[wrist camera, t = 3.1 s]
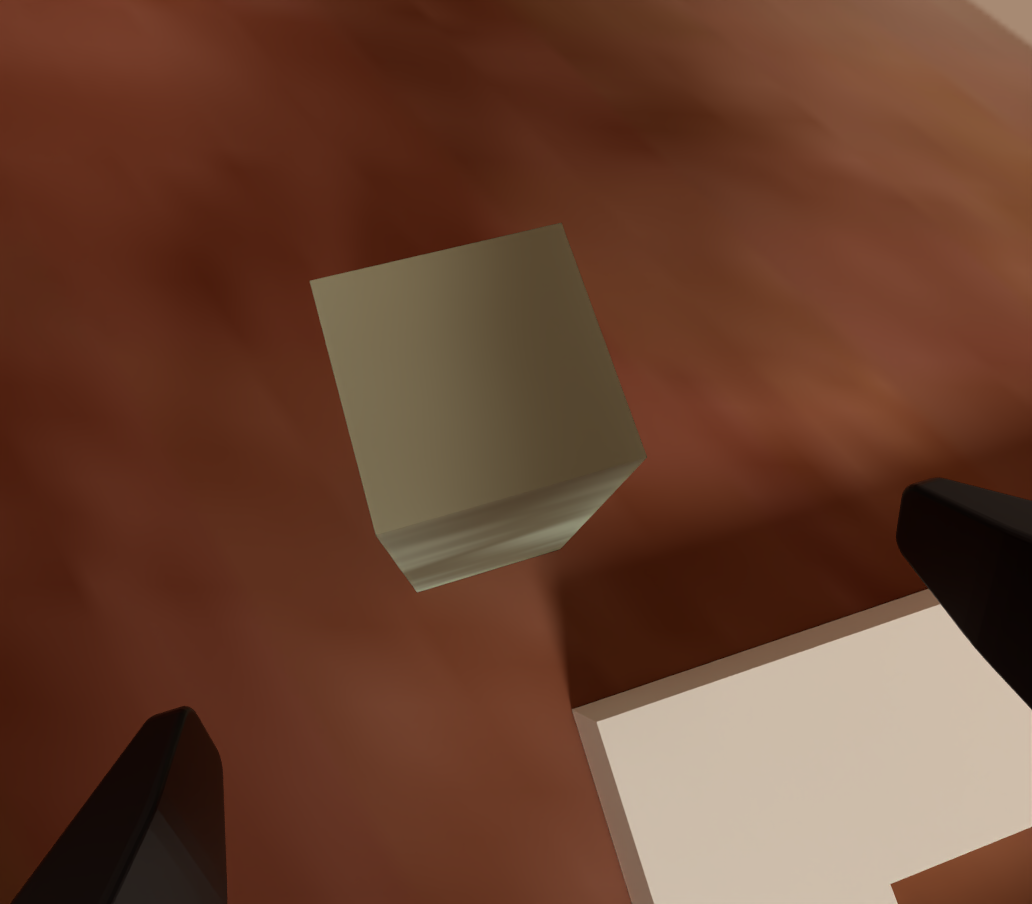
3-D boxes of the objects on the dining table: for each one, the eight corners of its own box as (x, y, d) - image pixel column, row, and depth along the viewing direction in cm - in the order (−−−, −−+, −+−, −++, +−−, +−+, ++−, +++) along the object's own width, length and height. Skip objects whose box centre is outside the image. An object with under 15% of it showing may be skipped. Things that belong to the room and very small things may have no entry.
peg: (417, 592, 19) (375, 534, 10) (379, 452, 20) (309, 280, 11) (560, 549, 19) (647, 457, 10) (516, 414, 20) (561, 222, 11)
